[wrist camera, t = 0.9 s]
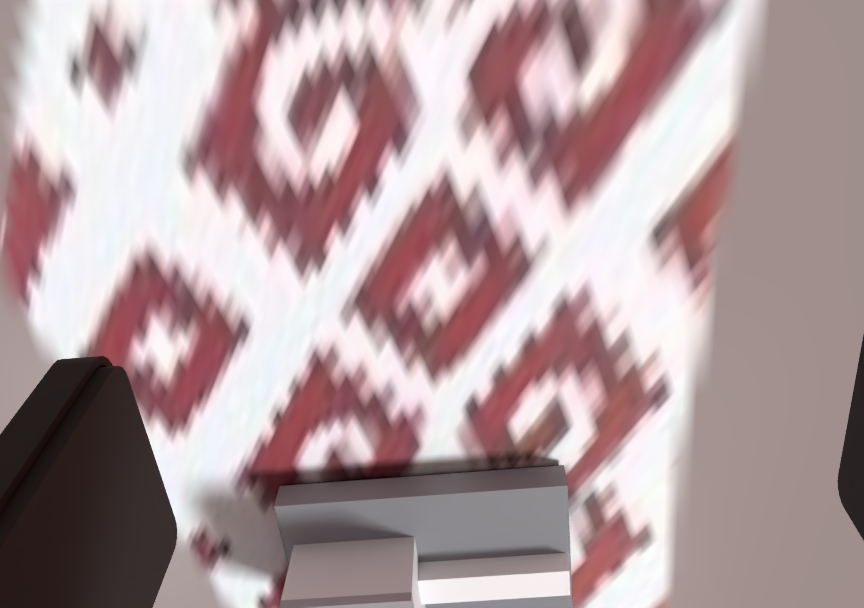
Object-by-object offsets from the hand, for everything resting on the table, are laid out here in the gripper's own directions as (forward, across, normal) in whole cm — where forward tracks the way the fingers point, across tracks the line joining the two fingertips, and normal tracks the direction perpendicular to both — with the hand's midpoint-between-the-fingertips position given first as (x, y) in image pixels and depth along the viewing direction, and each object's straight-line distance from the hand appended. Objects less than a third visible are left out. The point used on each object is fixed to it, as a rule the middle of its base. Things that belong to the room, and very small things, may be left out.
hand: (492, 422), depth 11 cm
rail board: (+23, +4, +25) cm, 34 cm away
